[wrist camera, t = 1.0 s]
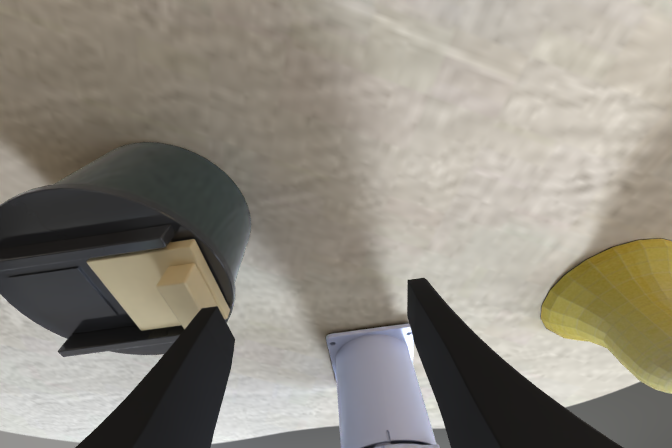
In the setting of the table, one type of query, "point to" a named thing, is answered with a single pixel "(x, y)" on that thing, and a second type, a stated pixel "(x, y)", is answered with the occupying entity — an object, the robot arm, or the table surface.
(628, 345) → the handbell
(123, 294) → the slider
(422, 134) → the table surface
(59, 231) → the canister
